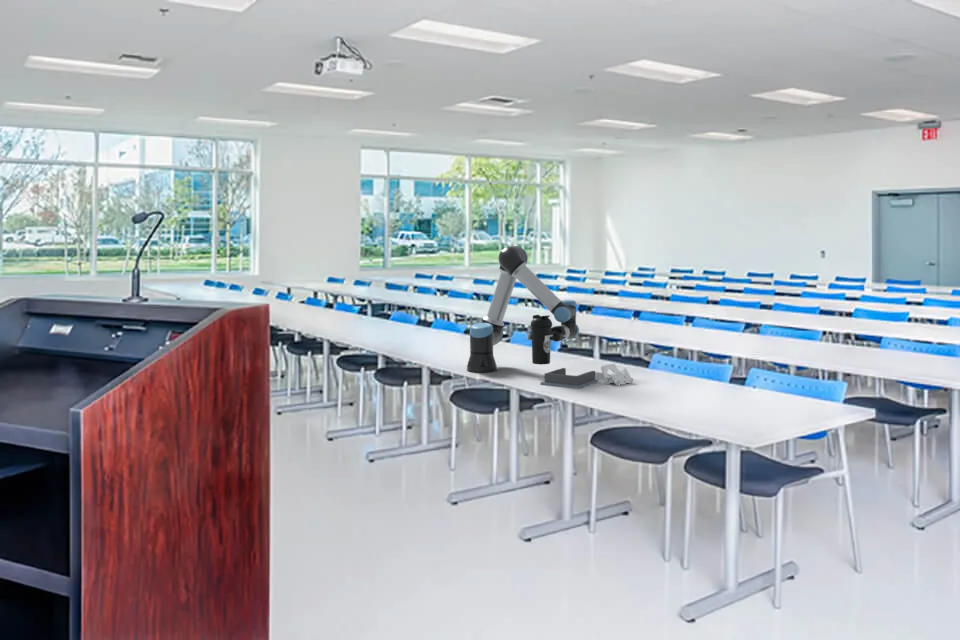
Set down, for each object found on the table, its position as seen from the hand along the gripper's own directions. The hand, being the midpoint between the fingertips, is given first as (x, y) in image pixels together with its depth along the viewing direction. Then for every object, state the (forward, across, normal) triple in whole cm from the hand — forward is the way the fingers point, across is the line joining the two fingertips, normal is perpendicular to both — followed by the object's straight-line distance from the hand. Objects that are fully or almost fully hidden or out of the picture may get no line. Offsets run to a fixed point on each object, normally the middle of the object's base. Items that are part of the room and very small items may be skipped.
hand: (536, 338), depth 379 cm
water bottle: (-4, 0, -13) cm, 13 cm away
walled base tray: (+2, -19, -19) cm, 27 cm away
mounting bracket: (-9, -38, -19) cm, 43 cm away
